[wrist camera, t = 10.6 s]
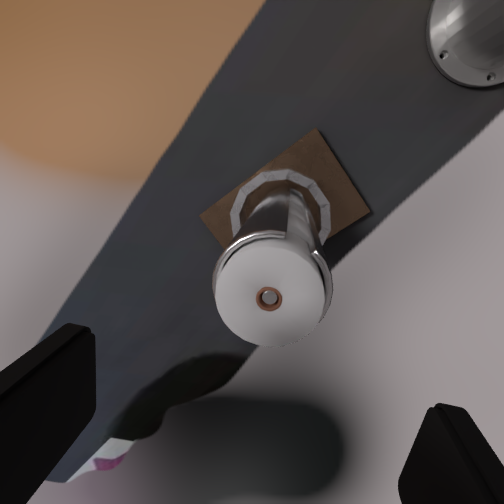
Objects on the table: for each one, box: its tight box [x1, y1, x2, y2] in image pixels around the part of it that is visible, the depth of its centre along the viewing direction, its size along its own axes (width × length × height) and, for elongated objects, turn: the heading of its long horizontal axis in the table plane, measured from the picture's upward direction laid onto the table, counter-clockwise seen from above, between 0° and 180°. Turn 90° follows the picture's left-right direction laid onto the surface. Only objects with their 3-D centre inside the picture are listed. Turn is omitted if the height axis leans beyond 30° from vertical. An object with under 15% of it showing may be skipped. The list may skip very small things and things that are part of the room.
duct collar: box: [199, 128, 370, 249], centre depth 38 cm, size 18×12×6 cm, turn 126°
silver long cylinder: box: [212, 187, 333, 347], centre depth 27 cm, size 6×6×25 cm
